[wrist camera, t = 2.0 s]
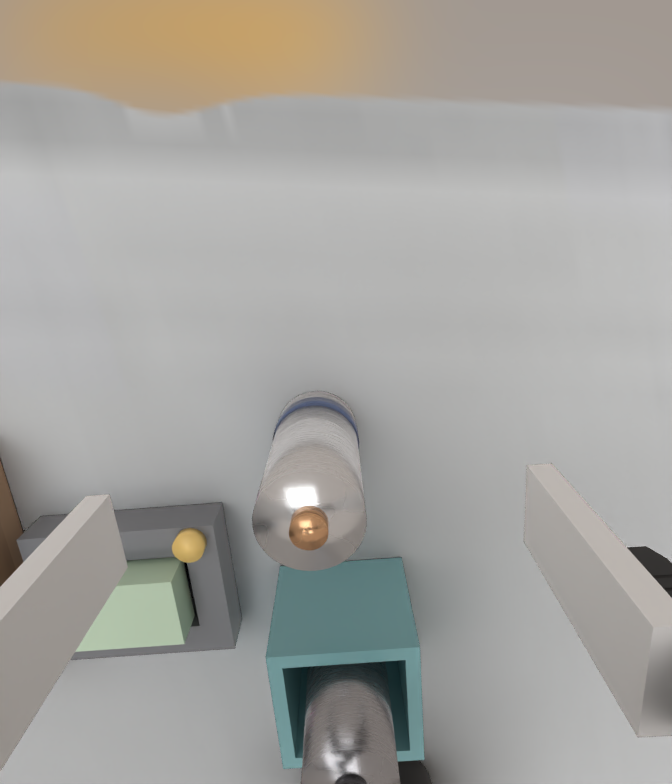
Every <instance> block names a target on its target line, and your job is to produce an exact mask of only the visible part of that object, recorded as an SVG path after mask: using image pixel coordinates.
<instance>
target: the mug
mask: <svg viewBox="0 0 672 784" xmlns="http://www.w3.org/2000/svg"><path fill="white" fill-rule="evenodd" d="M398 768H399V776H400V784H432V782H431V779H430V776H429V774H428V772H427V770H426V768H425V767H424V766H423V764H422V763H421V762H420V761H419V760H414V761H398Z"/></svg>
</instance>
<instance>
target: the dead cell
mask: <svg viewBox="0 0 672 784" xmlns="http://www.w3.org/2000/svg"><path fill="white" fill-rule="evenodd" d="M301 784H400V776H399V768H398V760H397V752H396V743H395V735H394V727H393V718H392V710H391V702H390V694H389V685H388V677H387V669H386V661H383V662H369V663H354V664H340V665H325V666H311V667H308V674H307V691H306V708H305V726H304V743H303V760H302V777H301Z"/></svg>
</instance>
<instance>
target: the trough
mask: <svg viewBox="0 0 672 784" xmlns="http://www.w3.org/2000/svg"><path fill="white" fill-rule="evenodd" d="M22 534H23V530H22V527H21V524H20V521H19V517H18V514H17V511H16V508H15V505H14V502H13V498H12V495H11V492H10V489H9V486H8V482H7V479H6V476H5V473H4V470H3V467H2V463H1V460H0V587H1V586H2V584H3V583H4V582H5V581H6V580H7V579H8V578H9V577H10V576H11V575H12V574H13V573H14V572H15V571H16V570H17V569H18V568H19V566H20V565H21V564H22V563H23V559H22V556H21V553H20V550H19V547H18V544H17V541H16V540H17V539H18V538H19V537H20V536H21V535H22Z"/></svg>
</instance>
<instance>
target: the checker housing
mask: <svg viewBox="0 0 672 784" xmlns="http://www.w3.org/2000/svg"><path fill="white" fill-rule="evenodd" d="M114 514H115V518H116V522H117V526H118V530H119V534H120V538H121V542H122V546H123V550H124V554H125V558H126V560H138V559H152V558H165V557H176V558H177V559H179V560H180V561H183V562H187V566H188V571H189V575H190V580H191V585H192V590H193V595H194V599H192V604H193V609H194V614H195V616H194V619H193V622H192V625H191V628H190V630H189V633H188V636H187V639H186V641H185V644H180V645H166V646H151V647H137V648H123V649H109V650H94V651H80V652H75V653H74V654H73V656H72V658H71V659H70V660H77V659H92V658H106V657H120V656H135V655H149V654H163V653H177V652H192V651H206V650H220V649H234V648H235V646H236V642H237V638H238V634H239V629H240V625H241V621H242V616H241V610H240V604H239V598H238V593H237V587H236V581H235V575H234V569H233V563H232V558H231V552H230V546H229V540H228V534H227V529H226V523H225V517H224V511H223V505H222V503H209V504H195V505H182V506H169V507H156V508H143V509H130V510H116V511H114ZM68 515H69V514H64V515H51V516H40V517H39V518H38V519H37V520H36V521H35V522H34V523H33V524H32V525H31V526H30V527H29V528H28V529H27V530H26V531H25V532H24V533H23V534H22V535H21V536H20V537H19V538H18V539H17V540H16V541H17V544H18V547H19V550H20V553H21V556H22V559H23V562H24V561H25V560H26V559H27V558H28V557H29V556H30V555H31V554H32V553H33V552H34V551H35V550H36V548H37V547H38V546H39V545H40V544H41V543H42V542H43V541H44V540H45V539H46V538H47V537H48V536H49V535H50V534H51V533H52V532H53V530H54V529H55V528H56V527H57V526H58V525H59V524H60V523H61V522H62V521H63V520H64V519H65V518H66V517H67V516H68Z"/></svg>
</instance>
